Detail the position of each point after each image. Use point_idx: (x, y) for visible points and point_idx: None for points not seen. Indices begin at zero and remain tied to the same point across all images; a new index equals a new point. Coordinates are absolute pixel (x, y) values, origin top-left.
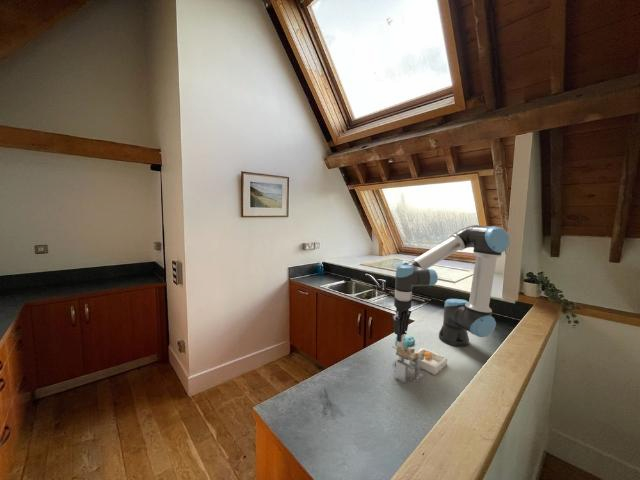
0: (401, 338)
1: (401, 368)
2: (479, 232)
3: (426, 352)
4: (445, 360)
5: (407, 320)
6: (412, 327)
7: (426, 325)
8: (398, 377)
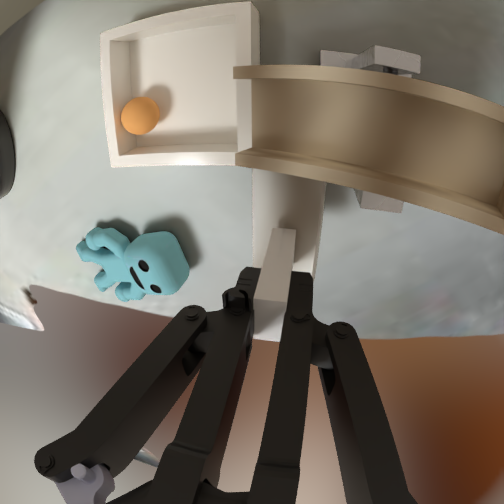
0: (289, 285)
1: None
2: None
3: (136, 123)
4: (122, 27)
5: (135, 406)
6: (42, 278)
7: (7, 252)
8: None
